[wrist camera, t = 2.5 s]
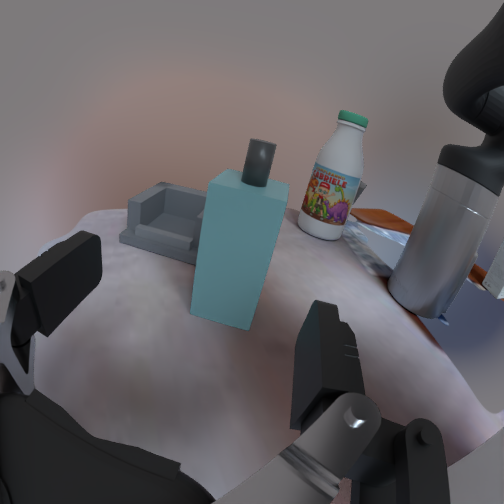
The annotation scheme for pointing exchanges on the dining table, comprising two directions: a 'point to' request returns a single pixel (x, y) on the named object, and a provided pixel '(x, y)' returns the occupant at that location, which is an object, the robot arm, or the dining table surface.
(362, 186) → the electrical switch
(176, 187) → the socket
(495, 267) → the skincare box
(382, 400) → the dining table surface
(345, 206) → the milk bottle
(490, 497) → the canister
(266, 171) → the plug
